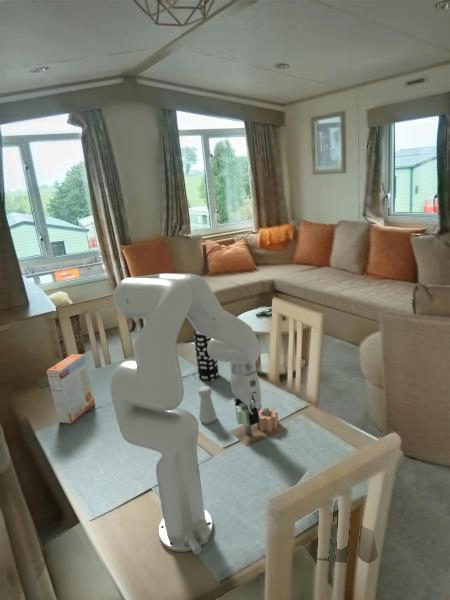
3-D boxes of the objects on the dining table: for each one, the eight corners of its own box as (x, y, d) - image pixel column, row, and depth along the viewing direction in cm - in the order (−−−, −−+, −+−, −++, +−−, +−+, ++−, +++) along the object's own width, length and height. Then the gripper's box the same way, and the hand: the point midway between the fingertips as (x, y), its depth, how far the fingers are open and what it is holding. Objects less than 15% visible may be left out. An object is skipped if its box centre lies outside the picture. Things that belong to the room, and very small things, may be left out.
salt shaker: (214, 428, 136) (210, 392, 132) (198, 427, 137) (193, 392, 133) (218, 418, 141) (214, 383, 138) (202, 417, 142) (198, 383, 139)
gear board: (287, 431, 130) (285, 411, 128) (247, 450, 123) (245, 429, 121) (268, 417, 139) (267, 398, 137) (230, 434, 132) (228, 414, 130)
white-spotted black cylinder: (195, 375, 174) (190, 330, 168) (213, 370, 177) (209, 326, 171) (203, 383, 166) (197, 337, 161) (221, 377, 170) (217, 332, 164)
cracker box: (82, 402, 160) (72, 353, 154) (95, 404, 158) (85, 353, 152) (57, 423, 148) (45, 369, 142) (71, 425, 146) (59, 371, 140)
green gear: (263, 420, 127) (262, 408, 125) (244, 429, 123) (243, 416, 122) (250, 411, 132) (249, 399, 131) (232, 418, 129) (231, 406, 128)
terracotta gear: (282, 423, 133) (281, 410, 132) (270, 434, 128) (270, 421, 126) (264, 417, 137) (263, 405, 136) (252, 427, 132) (251, 415, 131)
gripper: (270, 371, 117) (274, 426, 122) (238, 352, 131) (242, 402, 137) (248, 380, 113) (253, 436, 119) (217, 359, 128) (223, 409, 133)
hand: (247, 417), depth 128 cm, fingers closed on green gear, 6 cm apart
